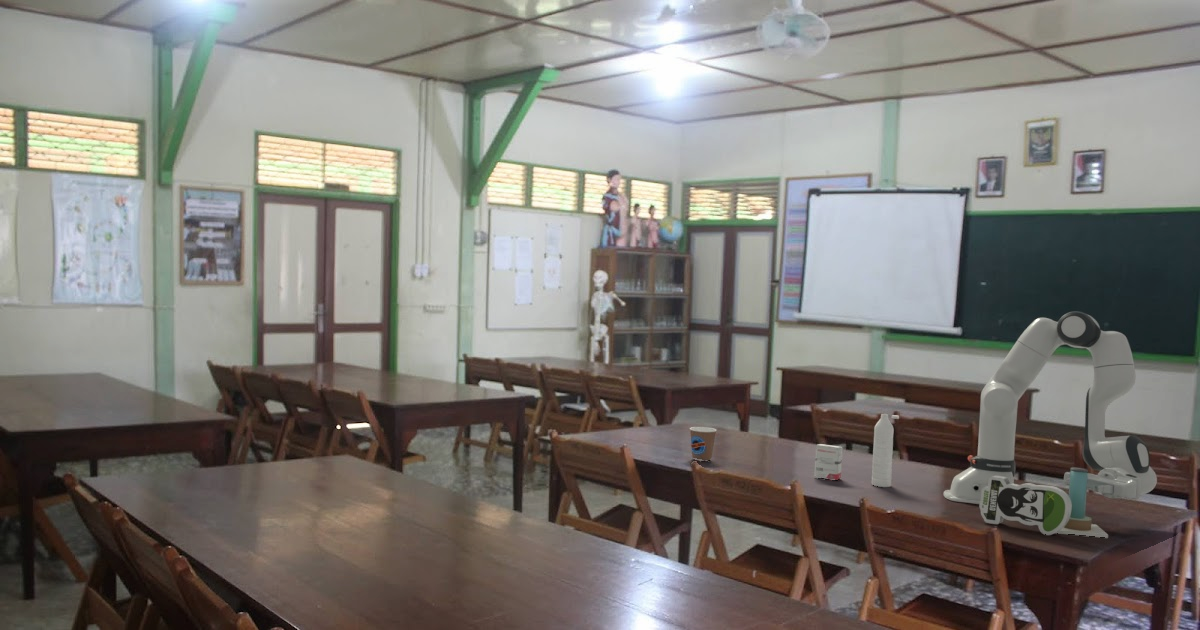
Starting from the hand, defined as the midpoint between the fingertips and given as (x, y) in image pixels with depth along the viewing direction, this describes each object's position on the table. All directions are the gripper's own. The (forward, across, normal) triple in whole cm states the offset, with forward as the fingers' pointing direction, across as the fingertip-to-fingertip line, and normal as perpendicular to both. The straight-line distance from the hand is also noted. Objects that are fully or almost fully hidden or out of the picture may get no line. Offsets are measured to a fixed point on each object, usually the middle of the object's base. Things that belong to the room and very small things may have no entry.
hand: (1082, 485), depth 274 cm
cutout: (+16, -6, +13) cm, 22 cm away
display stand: (+2, 0, +13) cm, 13 cm away
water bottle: (+14, -65, +13) cm, 68 cm away
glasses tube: (+2, 0, +9) cm, 9 cm away
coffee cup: (+51, -123, +13) cm, 134 cm away
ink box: (+26, -81, +13) cm, 86 cm away
